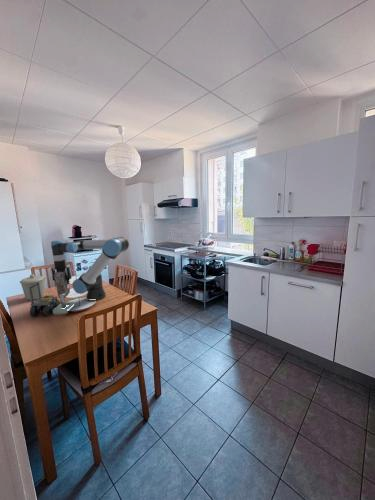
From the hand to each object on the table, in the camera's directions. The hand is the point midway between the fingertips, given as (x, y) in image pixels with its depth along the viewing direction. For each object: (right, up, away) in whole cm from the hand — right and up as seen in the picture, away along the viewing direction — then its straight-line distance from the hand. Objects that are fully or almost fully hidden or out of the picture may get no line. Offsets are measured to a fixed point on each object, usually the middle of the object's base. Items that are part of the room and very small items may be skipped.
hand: (63, 288), depth 170 cm
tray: (+7, -15, -11) cm, 20 cm away
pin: (+7, -14, -11) cm, 19 cm away
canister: (-33, -11, +15) cm, 38 cm away
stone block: (0, -6, +1) cm, 6 cm away
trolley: (-5, -15, -14) cm, 21 cm away
